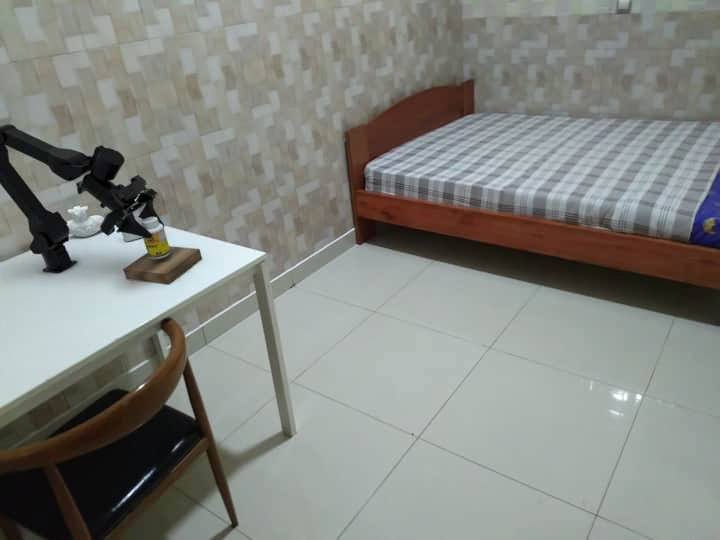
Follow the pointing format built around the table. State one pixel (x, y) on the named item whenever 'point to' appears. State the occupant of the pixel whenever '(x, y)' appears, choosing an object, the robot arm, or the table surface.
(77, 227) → the bust
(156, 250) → the supplement bottle
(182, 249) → the walnut stand
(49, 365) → the table surface
